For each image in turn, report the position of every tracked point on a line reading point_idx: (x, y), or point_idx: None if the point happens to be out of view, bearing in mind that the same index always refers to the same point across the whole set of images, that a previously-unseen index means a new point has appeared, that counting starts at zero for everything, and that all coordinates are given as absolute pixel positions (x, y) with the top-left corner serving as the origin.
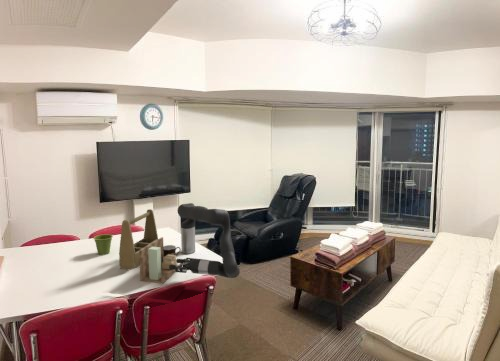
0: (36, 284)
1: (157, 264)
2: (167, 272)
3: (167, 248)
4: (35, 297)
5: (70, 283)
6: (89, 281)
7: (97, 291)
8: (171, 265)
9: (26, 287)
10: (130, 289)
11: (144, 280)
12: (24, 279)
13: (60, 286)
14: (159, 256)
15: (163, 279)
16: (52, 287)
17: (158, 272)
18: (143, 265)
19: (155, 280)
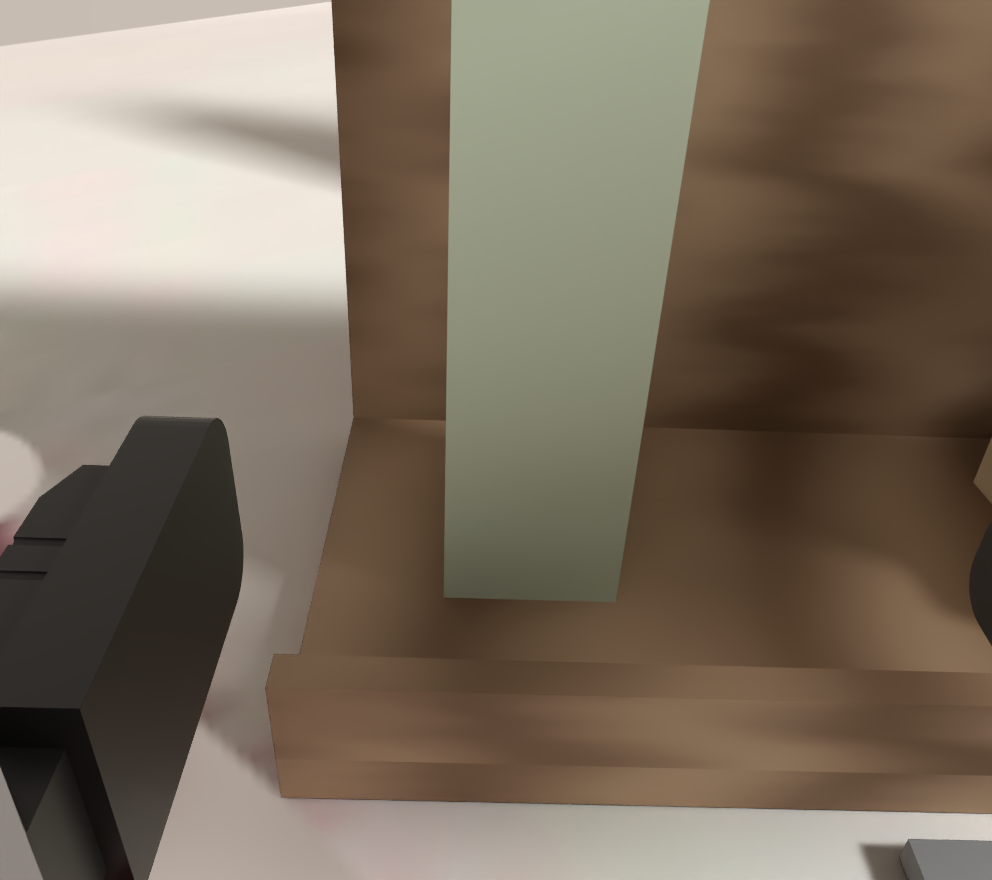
0: (258, 52)
1: (454, 235)
2: (890, 617)
3: None
4: (48, 81)
5: (285, 111)
6: (338, 153)
7: (104, 226)
8: (98, 493)
9: (213, 44)
10: (125, 406)
11: (387, 430)
12: (325, 25)
13: (228, 99)
14: (613, 27)
15: (312, 692)
16: (211, 86)
17: (488, 457)
18: (407, 146)
19: (419, 564)
